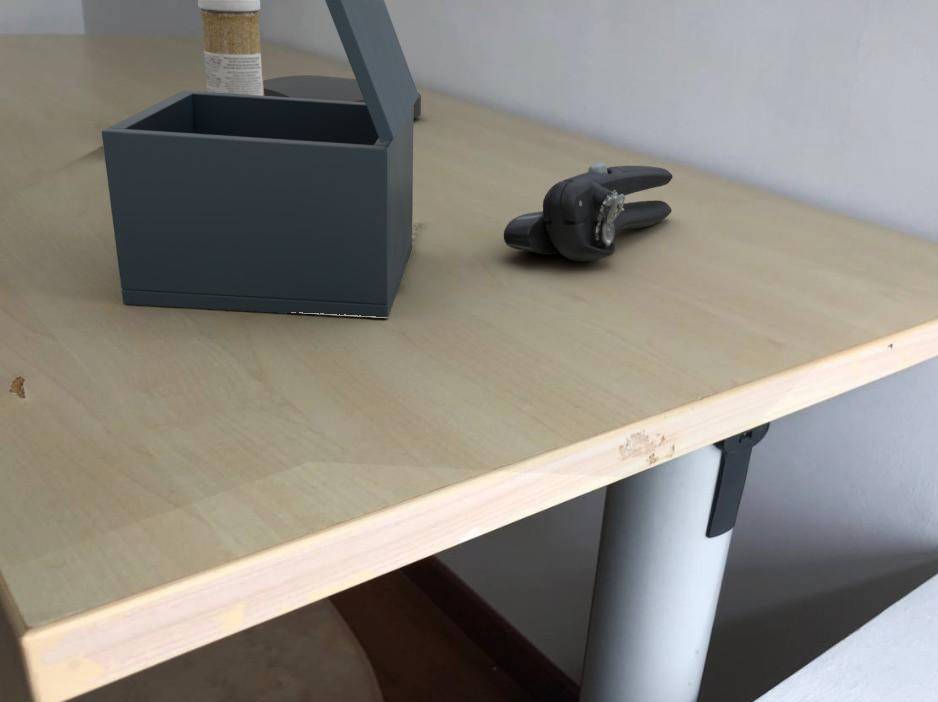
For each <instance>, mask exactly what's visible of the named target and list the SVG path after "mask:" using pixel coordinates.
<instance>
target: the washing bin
mask: <svg viewBox="0 0 938 702" xmlns="http://www.w3.org/2000/svg"><path fill="white" fill-rule="evenodd" d="M414 119H415V118H414V107H412V109H411V111H410V112H409V114H408V116H407V117H406V119H405V121H404V122H403V124H402V126H401V127H400V129H399V131H398V132H397V134H396V136H395V137H394V139H391V140H388V141H385V142H382V143H381V142H380V139H379V137H378V134H377V132H376V129H375V126H374V124H373V121H372V119H371V116H370V114H369V111H368V109H367V106H366V103H364V102H349V101H334V100H320V99H305V98H290V97H275V96H260V95H245V94H230V93H216V92H207V91H201V90H200V91H198V90H185V89H184V90H182V91H179V92H177V93H175V94H173V95H171V96H169V97H167V98H165V99H163V100H161V101H159V102H157V103H155V104H153V105H151V106H149V107H147V108H145V109H143V110H141V111H139V112H137V113H135V114H133V115H131V116H128V117H126V118H124V119H122V120H120V121H118V122H116V123H114V124H113V125H110V126H108V127H107V128H105V129H103V130H101V138H102V146H103V153H104V154H103V155H104V162H105V169H106V177H107V185H108V193H109V202H110V208H111V209H110V210H111V217H112V226H113V233H114V241H115V249H116V257H117V265H118V272H119V273H118V274H119V281H120V289H121V298H122V304H123V305H135V306H149V307H150V306H151V307H152V306H154V307H166V308H167V307H168V308H184V309H203V310H220V311H235V310H236V311H239V312H254V311H256V313H270V312H280V313H279V314H287V313H291V312H296V313H299V312H303V313H319V314H320V313H324V314H337V315H339V314H340V315H344V314H346V315H358V316H359V315H361V316H376V317H388V318H389V316H390V313H391V310H392V307H393V305H394V301H395V298H396V296H395V295H397V292H398V290H399V287H400V283H401V281H402V277H403V275H404V272H405V269H406V266H407V263H408V260H409V258H410V255H411V251H412V249H413V209H414V208H413V205H414V204H413V203H414V202H413V199H414V192H413V191H414ZM390 309H391V310H390ZM389 312H390V313H389ZM254 313H255V312H254ZM388 315H389V316H388Z"/></svg>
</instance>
